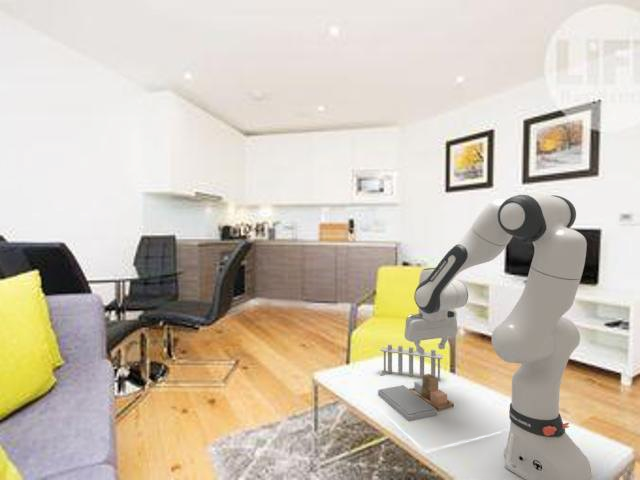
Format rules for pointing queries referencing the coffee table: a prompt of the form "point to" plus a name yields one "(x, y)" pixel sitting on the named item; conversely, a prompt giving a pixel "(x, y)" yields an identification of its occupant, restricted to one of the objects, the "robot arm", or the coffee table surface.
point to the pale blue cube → (418, 387)
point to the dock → (407, 403)
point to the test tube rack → (410, 360)
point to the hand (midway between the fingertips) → (430, 350)
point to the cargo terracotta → (438, 397)
